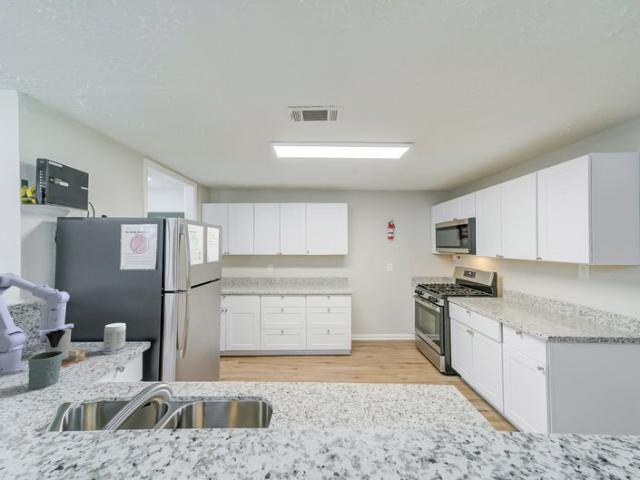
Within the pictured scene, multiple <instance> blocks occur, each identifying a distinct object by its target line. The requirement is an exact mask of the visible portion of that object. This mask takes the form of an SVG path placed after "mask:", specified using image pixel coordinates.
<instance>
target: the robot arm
mask: <svg viewBox="0 0 640 480" xmlns="http://www.w3.org/2000/svg"><path fill="white" fill-rule="evenodd" d="M11 287H16V288H18V289H22V290H24V291H28V292H30V293H31V295H32V296H33V297H36V298H38V299H41V300H43V301H45V302H46V303H47V305H48V308H49V309H48V319H47V327H46V328H42V329H39V330H36V331H35V336H42V335H43V336H44V335H45V336H46V339H47V338H48V339H49V342H50V345H51V348H55V347H58V344H59V342H60V340H61V338H62V336H63V335H64V334H65V331H63V330H64V329H73V328H74V327H75V324H74V323H67V324H65V323H66V310H67V302H69V300H70V298H71V296H70V294H69V292H68V291H66V290H62V291H61V290H60V291H59V289H58V288H57V289H54V288H52V287H49V285H48V284H39V285H37V284H35V283H33V282H31V281H29V280H27V279H25V278H22V277H20V275H17V274H14V273H12V272H7V273H0V375H4V374H7V373H10V372H13V371H16V370H19V369H22V368H26V367H27V366H26V365H23V364H21V363H22V354H23V352H22V351H23V347H24V345H25V344H26V343H27V341H28V339H29V337H28V335H27V333H25V332H24V331H23V329H22V328H21V327H18V326H16V324H15V322H14V320H13V318H12V316H11V313H10V312H9V309H8V306H7V305H6V302H5V300H4V297H3V294H4V293H5V292H7V290H9V289H10V288H11Z"/></svg>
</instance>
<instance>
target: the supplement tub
mask: <svg viewBox="0 0 640 480" xmlns="http://www.w3.org/2000/svg"><path fill="white" fill-rule="evenodd" d="M126 325H127V324H126V323H124V322H115V323H110V324H106V325H105V326H104V330H103V331H104V332H103V345H102V346H103V347H102V348H103V350H102V352H103V354H104V355H115V354H114V353H116V354H119V352H120V353H122V352H124V351H125V349H126V330H127V326H126ZM123 350H124V351H123ZM121 351H122V352H121Z"/></svg>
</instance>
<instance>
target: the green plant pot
mask: <svg viewBox="0 0 640 480" xmlns="http://www.w3.org/2000/svg"><path fill="white" fill-rule="evenodd" d="M63 356H64V355H63V352H62V351H47V352H45V351H42V352H39V353H38V352H37V353H36V354H32V355H30V356H28V357H27V358H28V359H27V360H28V363H27V364H28V369H29V370H28V389H29V390H32V391H35V390H43V389H46V388H48V387H51V386H54V385H55V384H57V383H59V378H60V372H61V361H62V359H63Z"/></svg>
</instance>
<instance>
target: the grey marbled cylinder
mask: <svg viewBox="0 0 640 480" xmlns="http://www.w3.org/2000/svg"><path fill="white" fill-rule="evenodd" d="M72 329H73V328H69V329H64V330H63V331H65V334H64V335H63V336H62V338H61V340H60V342H59V344H58V347H55V348H51V345H50V342H49V339H48V338H47V337H46V342H45V350H44V352H47V351H62V352H63V356H65V355H67V354H68V355H69V351H70V350H71V349H70V348H71V336H72Z"/></svg>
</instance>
